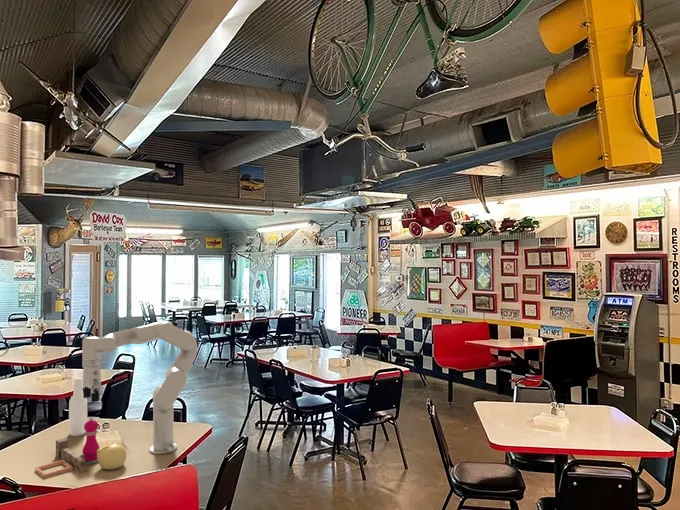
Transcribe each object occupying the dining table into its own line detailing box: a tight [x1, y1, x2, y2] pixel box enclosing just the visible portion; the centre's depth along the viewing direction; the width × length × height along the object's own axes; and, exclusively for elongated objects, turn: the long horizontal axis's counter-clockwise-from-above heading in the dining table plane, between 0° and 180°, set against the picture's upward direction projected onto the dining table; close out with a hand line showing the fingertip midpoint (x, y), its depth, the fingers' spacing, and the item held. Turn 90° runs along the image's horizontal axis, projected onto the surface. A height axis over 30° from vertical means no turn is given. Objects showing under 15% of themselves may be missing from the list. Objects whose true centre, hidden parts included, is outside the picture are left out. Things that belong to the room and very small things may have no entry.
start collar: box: [78, 453, 99, 467], centre depth 235 cm, size 12×12×2 cm
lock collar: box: [34, 459, 74, 479], centre depth 223 cm, size 12×12×2 cm
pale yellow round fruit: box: [97, 442, 127, 470], centre depth 227 cm, size 11×12×11 cm
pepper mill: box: [82, 416, 101, 462], centre depth 235 cm, size 7×7×20 cm
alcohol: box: [68, 376, 88, 437], centre depth 272 cm, size 9×9×30 cm
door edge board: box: [55, 437, 87, 474], centre depth 231 cm, size 28×4×8 cm, turn 48°
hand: (91, 399), depth 236 cm, fingers open, 9 cm apart
